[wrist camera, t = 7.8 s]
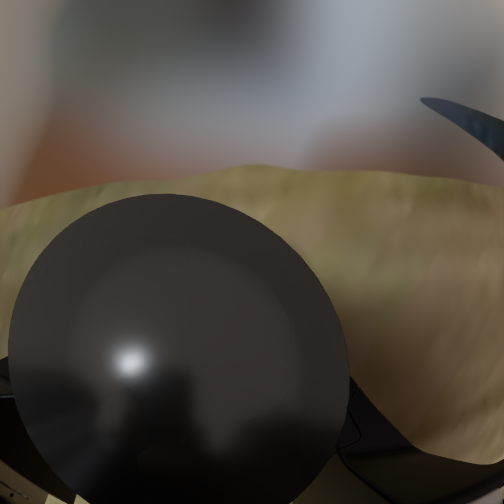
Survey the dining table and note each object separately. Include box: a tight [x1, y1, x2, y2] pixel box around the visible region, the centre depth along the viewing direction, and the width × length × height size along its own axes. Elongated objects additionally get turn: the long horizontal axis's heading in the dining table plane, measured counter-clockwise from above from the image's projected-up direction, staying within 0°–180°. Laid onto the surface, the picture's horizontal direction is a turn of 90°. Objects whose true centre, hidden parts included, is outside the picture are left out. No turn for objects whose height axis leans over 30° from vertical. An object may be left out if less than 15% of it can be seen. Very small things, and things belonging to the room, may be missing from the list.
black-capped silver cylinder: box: [8, 194, 350, 504], centre depth 9 cm, size 5×5×12 cm
